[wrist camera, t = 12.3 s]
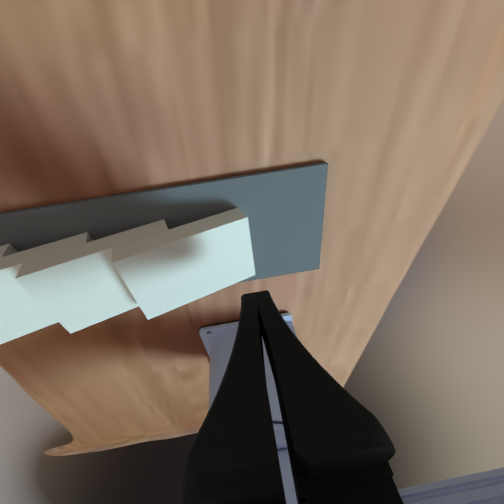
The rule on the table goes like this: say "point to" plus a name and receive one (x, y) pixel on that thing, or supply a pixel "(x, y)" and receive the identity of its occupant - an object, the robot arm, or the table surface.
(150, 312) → the domino
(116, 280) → the domino
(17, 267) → the domino
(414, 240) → the table surface
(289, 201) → the mat
